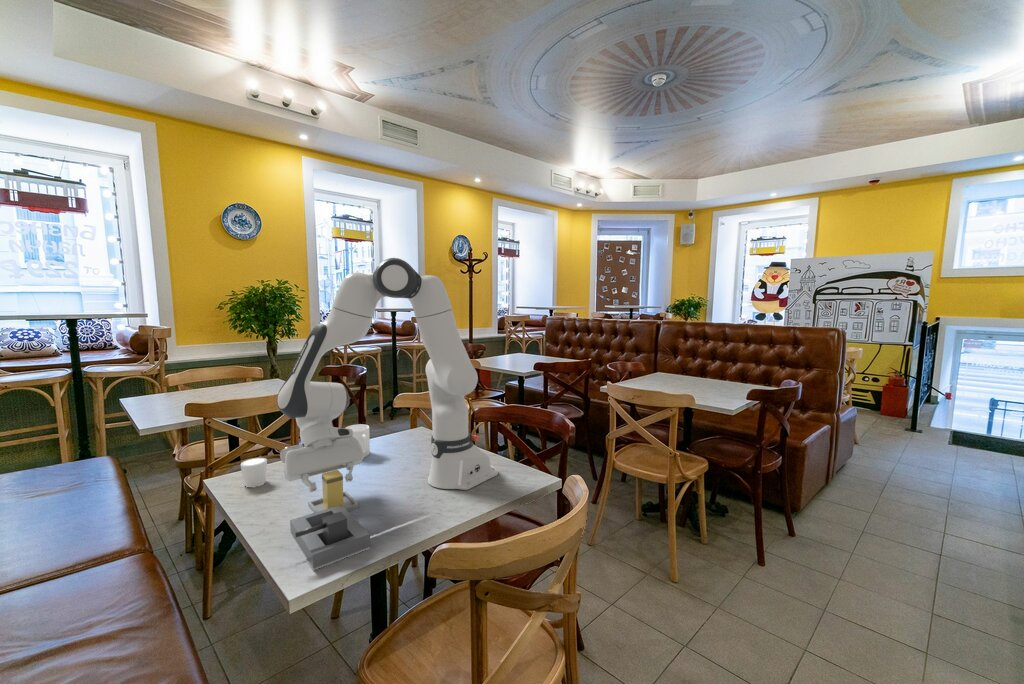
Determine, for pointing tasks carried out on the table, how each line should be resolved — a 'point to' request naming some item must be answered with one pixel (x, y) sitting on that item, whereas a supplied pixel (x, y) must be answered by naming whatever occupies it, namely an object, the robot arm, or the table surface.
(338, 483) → the plug
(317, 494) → the table surface
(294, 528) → the grey socket block
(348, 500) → the tray
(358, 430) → the cup
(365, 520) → the table surface
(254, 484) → the white cylinder
